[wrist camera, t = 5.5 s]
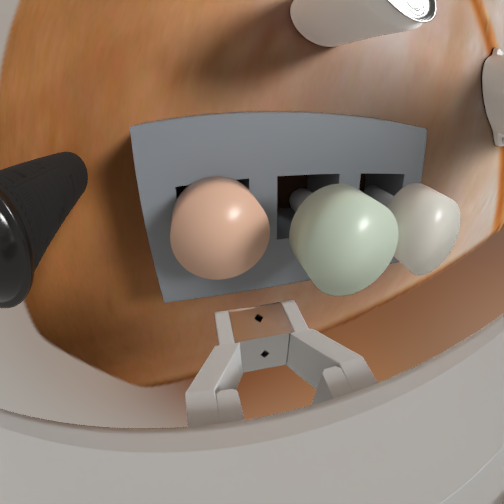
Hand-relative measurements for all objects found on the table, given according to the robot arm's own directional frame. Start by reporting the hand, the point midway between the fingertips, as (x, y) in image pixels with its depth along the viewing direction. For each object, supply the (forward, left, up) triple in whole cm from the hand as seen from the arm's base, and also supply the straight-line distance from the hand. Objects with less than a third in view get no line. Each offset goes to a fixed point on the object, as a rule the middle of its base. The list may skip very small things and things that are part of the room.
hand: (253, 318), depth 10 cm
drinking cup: (+14, -3, -17) cm, 22 cm away
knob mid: (-7, 0, -12) cm, 14 cm away
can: (-11, -17, -17) cm, 26 cm away
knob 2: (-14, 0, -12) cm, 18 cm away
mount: (-7, 0, -16) cm, 18 cm away
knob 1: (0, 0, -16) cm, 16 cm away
